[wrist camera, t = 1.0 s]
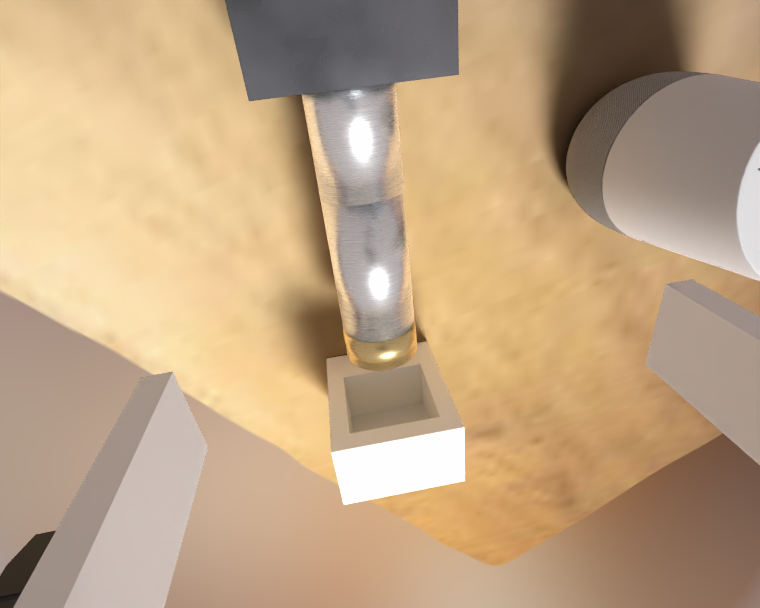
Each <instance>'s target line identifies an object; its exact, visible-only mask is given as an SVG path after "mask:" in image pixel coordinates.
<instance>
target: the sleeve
mask: <svg viewBox="0 0 760 608" xmlns="http://www.w3.org/2000/svg"><path fill="white" fill-rule="evenodd" d="M225 2H226V6H227V10H228V15H229V19H230V23H231V27H232V32H233V36H234V40H235V44H236V49H237V53H238V57H239V61H240V65H241V70H242V74H243V78H244V82H245V87H246V91H247V95H248V99H249V101H254V100H262V99H270V98H278V97H286V96H293V95H301V94H309V93H317V92H325V91H333V90H341V89H349V88H357V87H365V86H373V85H381V84H389V83H396V82H404V81H412V80H420V79H428V78H436V77H444V76H452V75H459V59H458V0H225Z"/></svg>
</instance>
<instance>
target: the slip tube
mask: <svg viewBox="0 0 760 608" xmlns="http://www.w3.org/2000/svg"><path fill="white" fill-rule="evenodd" d="M302 100H303V105H304V111H305V117H306V122H307V128H308V133H309V139H310V144H311V150H312V156H313V161H314V167H315V172H316V178H317V184H318V189H319V195H320V200H321V206H322V212H323V217H324V223H325V228H326V234H327V240H328V245H329V251H330V256H331V262H332V267H333V273H334V279H335V284H336V290H337V295H338V301H339V307H340V312H341V318H342V323H343V325H342V328H343V334H344V339H345V345H346V350H347V355H348V358H349V360H350V361H351V362H352V363H353V364H354V365H356V366H357V367H360V368H362V369H366V370H372V371H383V370H389V369H393V368H397V367H399V366H401V365H403V364H405V363H407V362H408V361H409V360H411V359H412V358H413V356H414V355H415V353H416V351H417V337H416V324H415V316H414V309H413V296H412V283H411V270H410V257H409V245H408V232H407V219H406V206H405V193H404V180H403V167H402V155H401V142H400V129H399V116H398V103H397V90H396V83H389V84H381V85H373V86H365V87H357V88H349V89H341V90H333V91H325V92H317V93H309V94H302Z"/></svg>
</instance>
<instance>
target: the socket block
mask: <svg viewBox="0 0 760 608" xmlns="http://www.w3.org/2000/svg"><path fill="white" fill-rule="evenodd" d="M326 362H327V381H328V400H329V419H330V438H331V454H332V458H333V462H334V466H335V470H336V475H337V479H338V483H339V487H340V491H341V496H342V500H343V504H344V505H346V504H351V503H356V502H361V501H366V500H371V499H376V498H381V497H386V496H391V495H396V494H401V493H406V492H411V491H416V490H421V489H426V488H432V487H437V486H442V485H447V484H452V483H457V482H462V481H465V438H464V425H463V423H462V421H461V418H460V416H459V414H458V411H457V409H456V407H455V404H454V402H453V400H452V397H451V395H450V393H449V391H448V388H447V386H446V384H445V381H444V379H443V377H442V374H441V372H440V370H439V367H438V365H437V363H436V361H435V358H434V356H433V354H432V351H431V349H430V347H429V344H428V342H427V341H425V342H419V343H417V351H416V353H415V355H414V356H413V358H412V359H411V360H409V361H408V362H407V363H405V364H403V365H401V366H399V367H397V368H393V369H389V370H383V371H372V370H366V369H362V368H360V367H357V366H356V365H354V364H353V363H352V362H351V361H350V360H349V358H348V355H344V356H338V357H332V358H327V359H326Z"/></svg>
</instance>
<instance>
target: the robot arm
mask: <svg viewBox="0 0 760 608" xmlns="http://www.w3.org/2000/svg"><path fill="white" fill-rule="evenodd" d="M645 365H646V366H648V367H649V368H650V369H651V370H652V371H653V372H654V373H656V374H657V375H658V376H659V377H660V378H661V379H662V380H663V381H665V382H666V383H667V384H668V385H669V386H670V387H671V388H673V389H674V390H675V391H676V392H677V393H678V394H679V395H681V396H682V397H683V398H684V399H685V400H686V401H687V402H688V403H690V404H691V405H692V406H693V407H694V408H695V409H696V410H698V411H699V412H700V413H701V414H702V415H703V416H704V417H706V418H707V419H708V420H709V421H710V422H711V423H712V424H714V425H715V426H716V427H717V428H718V429H719V430H720V431H721V432H723V433H724V434H725V435H726V436H727V437H728V438H729V439H731V440H732V441H733V442H734V443H735V444H736V445H737V446H739V447H740V448H741V449H742V450H743V451H744V452H745V453H746V454H748V455H749V456H750V457H751V458H752V459H753V460H754V461H756V462H757V463H758V464H759V465H760V316H758V315H756V314H754V313H752V312H751V311H749V310H747V309H745V308H743V307H742V306H740V305H738V304H736V303H734V302H732V301H731V300H729V299H727V298H725V297H723V296H721V295H720V294H718V293H716V292H714V291H712V290H711V289H709V288H707V287H705V286H703V285H701V284H700V283H698V282H696V281H694V280H686V281H681V282H675V283H670V284H666V285H665V289H664V293H663V297H662V301H661V305H660V309H659V313H658V316H657V320H656V324H655V328H654V332H653V336H652V340H651V344H650V348H649V352H648V356H647V359H646V363H645ZM207 449H208V447H207V445H206V442H205V440H204V438H203V436H202V434H201V432H200V430H199V427H198V425H197V423H196V421H195V419H194V417H193V415H192V412H191V410H190V408H189V406H188V404H187V402H186V399H185V397H184V395H183V393H182V391H181V389H180V386H179V384H178V382H177V380H176V378H175V376H174V374H173V372H168V373H163V374H157V375H151V376H146V377H141V379H140V381H139V383H138V384H137V386H136V388H135V390H134V392H133V393H132V395H131V397H130V399H129V401H128V402H127V404H126V406H125V408H124V409H123V411H122V413H121V415H120V417H119V419H118V420H117V422H116V424H115V426H114V427H113V429H112V431H111V433H110V435H109V437H108V438H107V440H106V442H105V444H104V446H103V447H102V449H101V451H100V453H99V454H98V456H97V458H96V460H95V462H94V463H93V465H92V467H91V469H90V471H89V472H88V474H87V476H86V478H85V480H84V481H83V483H82V485H81V487H80V489H79V490H78V492H77V494H76V496H75V498H74V499H73V501H72V503H71V505H70V507H69V508H68V510H67V512H66V514H65V516H64V518H63V519H62V521H61V523H60V525H59V527H58V528H57V530H56V531H52V532H46V533H42V534H36V535H35V536H34V537H33V538H32V539H31V540H30V541H29V542H28V543H27V545H26V546H25V547H24V548H23V549H22V550H21V551H20V552H19V553H18V554H17V555H16V556H15V557H14V558H13V559H12V560H11V562H10V563H9V564H8V565H7V566H6V567H5V569H4V571H3V572H2V574H1V576H0V608H164V606H165V602H166V599H167V595H168V591H169V588H170V584H171V580H172V577H173V573H174V569H175V566H176V562H177V558H178V555H179V551H180V548H181V544H182V540H183V537H184V533H185V529H186V526H187V522H188V519H189V515H190V511H191V508H192V504H193V500H194V497H195V493H196V490H197V485H198V482H199V478H200V475H201V471H202V468H203V464H204V460H205V457H206V453H207Z"/></svg>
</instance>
